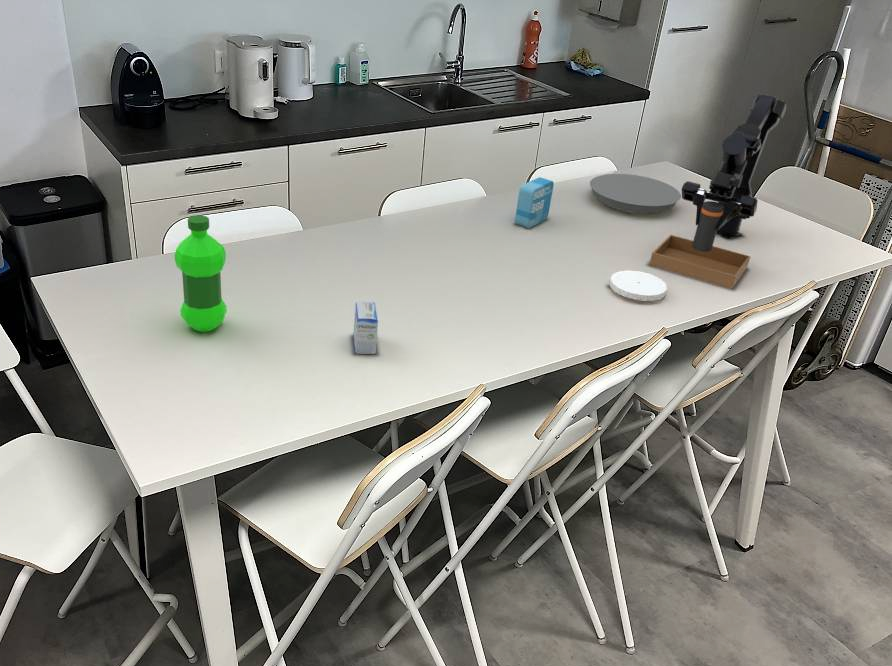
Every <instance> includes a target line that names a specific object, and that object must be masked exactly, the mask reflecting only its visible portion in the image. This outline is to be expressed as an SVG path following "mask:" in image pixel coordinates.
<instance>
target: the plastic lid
mask: <svg viewBox="0 0 892 666" xmlns="http://www.w3.org/2000/svg"><path fill="white" fill-rule="evenodd" d="M608 285H609V287H610V289H611V290H612V291H613V292H615V294H618V295H619V296H621V297H622V296H623V297H625V298H628V299H631V300H636V301H643V302H652V301H658V300H661V299H663V298H665V297H666V294H667V291H668V284H667V283H666V282H665V281H664V280H663V279H661V278H660V277H658V276H656V275H655V274H654V275H653V274H651V273H648V272H643V271H639V270H631V269H627V270H619V271H617V272H614V273H612V274H611V275H610V277H609V283H608Z"/></svg>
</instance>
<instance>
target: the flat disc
mask: <svg viewBox="0 0 892 666" xmlns="http://www.w3.org/2000/svg"><path fill="white" fill-rule="evenodd" d="M589 186H590V188H591V192H592V196H593V197H594V198H595V199H597V200H598V201H600V202H602V203H603V204H604V205H606V206H608V207H609V208H612V209H616V210H617V209H618V210H620V211H623V212H625V213H633V214H634V213H635V214H643V213H650V214H654V213H658V214H659V213H664V212H668V211H671V210H672V209H673V208H674V207H675V205H676V204H677V203H678V202H679V201H680V200H681V199H682V193H681V192H680V191H679V190H678V189H677V188H675V187H674V186H673V185H670V184H669V183H666V182H664V181H661V180H659V179H655V178H652V177H647V176H643V175H638V174H630V173H629V174H628V173H608V174H607V173H606V174H601V175H597V176H595V177H593V178H592V179H590V181H589Z"/></svg>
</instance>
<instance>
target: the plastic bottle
mask: <svg viewBox="0 0 892 666" xmlns="http://www.w3.org/2000/svg"><path fill="white" fill-rule="evenodd" d="M187 228H188V229H189V230H190V234H189V235H187V236H186V237H185V238H184V239H183V240H182V241H181V242H179V244H178V246H177V247H176V250H175V253H174V262H175V266H176V268H178V269H179V270H180V271H181V274H182V276H181V277H182V289H183V291H182V292H183V303H182V304H181V306H180V307H181V308H180V309H179V310H180V317H181V318H182V320H183V321H184V322H185V323H186V324H187V325H188V327H190V328H192V329H193V330H194V331H196V332H201V333H207V332H211V331H214V330H216V328H218V327H219V326H221V324H222V323H223V322H224V319H225V316H226V314H227V305H226V303H225V301H224V299H223V298H222V277H221V271H222V270H223V268H224V267H225V264H226V261H227V260H226V259H227V253H226V248H225V247H224V245H222V244H221V243H220V242H219V241H218V240H216V239H215V238H214V237H213V236H211V235H210V234H209V233H208V231H209V228H210V218H209V217H208V216H206V215H203V214H202V215H201V214H197V215H196V214H195V215H191V216H189V217H188V218H187Z"/></svg>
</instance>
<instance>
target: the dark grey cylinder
mask: <svg viewBox="0 0 892 666" xmlns="http://www.w3.org/2000/svg"><path fill="white" fill-rule="evenodd" d="M723 209H724V205H722V204H720V203H718V202H717V201H713V200H708V201H704V204H703V207H702V210H701V215H700V219H699V222H698V225H696V230H695V232H694V233H695V234H694V236H693V239H692V241H693V244H692V248H694V249H695V250H698V251H702V252H709V251H711V250H712V246H714V243H715V239H716V236H717V231H716V228H717V225H718V223H719V221H720V219H721V216H722V214H723Z"/></svg>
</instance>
